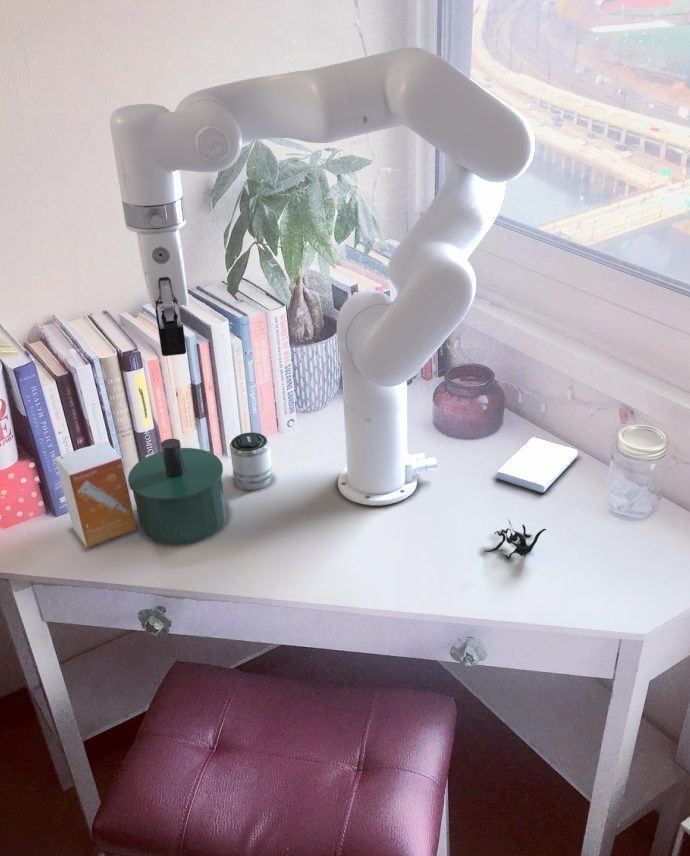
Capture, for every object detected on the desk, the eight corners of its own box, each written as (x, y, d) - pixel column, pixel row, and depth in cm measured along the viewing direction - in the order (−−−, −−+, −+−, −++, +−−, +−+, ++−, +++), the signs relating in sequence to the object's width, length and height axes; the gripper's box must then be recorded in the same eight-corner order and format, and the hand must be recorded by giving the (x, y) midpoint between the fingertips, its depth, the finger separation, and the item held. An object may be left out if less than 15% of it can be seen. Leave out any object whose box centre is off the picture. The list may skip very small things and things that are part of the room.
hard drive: (496, 479, 145) (531, 444, 153) (543, 494, 141) (577, 458, 149) (496, 470, 144) (532, 436, 152) (544, 485, 140) (578, 449, 148)
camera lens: (239, 494, 144) (233, 452, 140) (230, 474, 149) (225, 433, 145) (277, 486, 146) (273, 444, 141) (267, 466, 151) (263, 425, 146)
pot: (221, 488, 146) (215, 446, 141) (231, 535, 135) (225, 491, 131) (139, 502, 144) (129, 459, 139) (142, 550, 133) (133, 506, 129)
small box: (87, 549, 134) (67, 475, 127) (72, 529, 139) (53, 456, 131) (138, 530, 138) (122, 457, 130) (122, 510, 142) (106, 439, 135)
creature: (474, 552, 131) (507, 571, 125) (471, 518, 129) (504, 536, 122) (519, 535, 134) (553, 553, 127) (516, 502, 132) (551, 519, 125)
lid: (217, 447, 142) (213, 413, 139) (228, 495, 131) (223, 460, 127) (127, 461, 140) (120, 427, 136) (131, 511, 129) (123, 475, 125)
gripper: (190, 231, 107) (205, 363, 117) (179, 191, 121) (193, 312, 131) (126, 236, 106) (146, 369, 116) (122, 196, 120) (141, 318, 130)
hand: (171, 339), depth 123 cm, fingers open, 9 cm apart
